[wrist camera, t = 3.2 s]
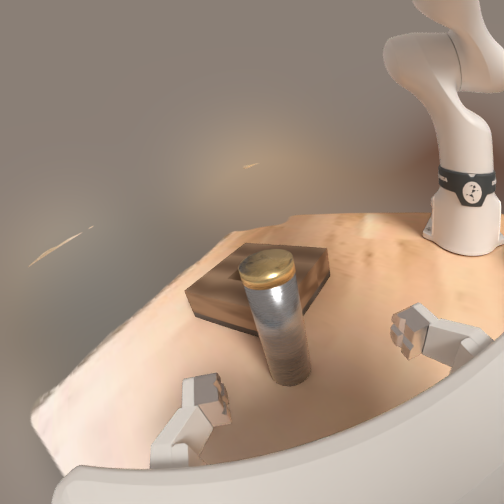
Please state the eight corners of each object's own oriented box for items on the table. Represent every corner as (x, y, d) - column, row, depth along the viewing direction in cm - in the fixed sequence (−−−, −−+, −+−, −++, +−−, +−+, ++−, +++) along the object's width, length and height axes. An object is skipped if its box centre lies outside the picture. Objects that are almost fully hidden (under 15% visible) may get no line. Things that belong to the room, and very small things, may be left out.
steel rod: (283, 351, 31) (257, 247, 26) (318, 360, 29) (302, 250, 23) (262, 378, 28) (227, 273, 23) (299, 391, 26) (275, 280, 20)
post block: (251, 266, 53) (245, 242, 51) (330, 275, 44) (326, 248, 42) (195, 316, 42) (184, 290, 40) (283, 343, 33) (276, 313, 31)
